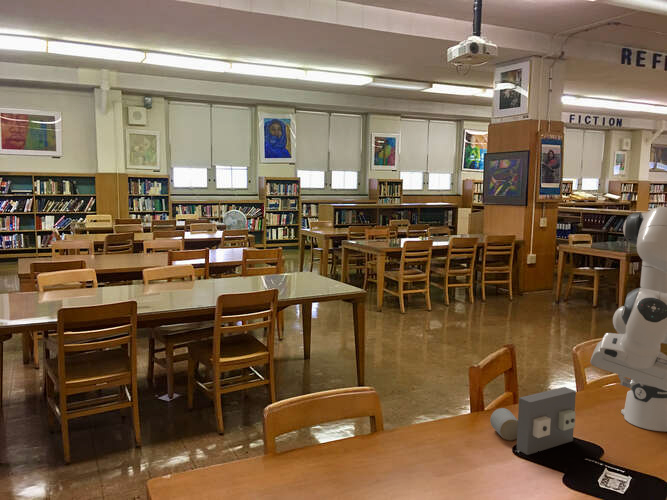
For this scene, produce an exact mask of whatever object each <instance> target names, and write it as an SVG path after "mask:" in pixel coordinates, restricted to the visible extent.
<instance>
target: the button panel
mask: <svg viewBox="0 0 667 500" xmlns="http://www.w3.org/2000/svg"><path fill="white" fill-rule="evenodd" d="M576 393H577V391H576V390H574V389H571V388H569V387H566V386H563V387H559V388H554V389H550V390H546V391H541V392H537V393H534V394H528V395H525V396H521V397H518V411H517V413H518V415H517V420H518V430H517V439H516V450H518V451H519V452H521V453H523V454H525V455H526V456H529V455H531V454H532V455H533V454H536V453H538V451H539V452H541V451H544V450H548V449H551V448H554V447H558V446H561V445H564V444H567V443H572V442H573V440H574V429H575V427H574V428H571V429H568V430H564V431H563V430H561V429H559V428H558V416H559V412H560V411H563V410H567V409H570V410H573V411H575V410H576V396H577V395H576ZM575 412H576V411H575ZM541 416H546V417H549V418H551V423H550V435H547V436H544V437H541V438H536V437H534V436H533V435H532V431H533V418H537V417H541Z"/></svg>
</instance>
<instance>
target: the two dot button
mask: <svg viewBox="0 0 667 500" xmlns="http://www.w3.org/2000/svg"><path fill="white" fill-rule="evenodd" d="M576 413H577V412H576V411H573V410H570V409H567V410H563V411H560V412H559V416H558V428H559V429H561V430H563V431H564V430H568V429H571V428H574V429H575V426H576Z"/></svg>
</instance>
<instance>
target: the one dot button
mask: <svg viewBox="0 0 667 500" xmlns="http://www.w3.org/2000/svg"><path fill="white" fill-rule="evenodd" d="M550 423H551V418H549V417H546V416H541V417H537V418H533V431H532V435H533V436H534V437H536V438H541V437H544V436H547V435H550Z"/></svg>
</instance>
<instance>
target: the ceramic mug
mask: <svg viewBox="0 0 667 500" xmlns="http://www.w3.org/2000/svg"><path fill="white" fill-rule="evenodd" d="M489 419H490V420H489V421H490V425H491V428H493V429H494V431H496V433H497V434H498V435H499V436H501V438H502V439H504V440H506V441H513V440H517V430H518V418H517V417H516V416H515V415H514V414H513V413H512V412H511V410H510V409H507V408H505V407H501V408H500V407H499V408H497V409H495V410H494V411H493V412H492V413H491V416H490V418H489Z"/></svg>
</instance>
